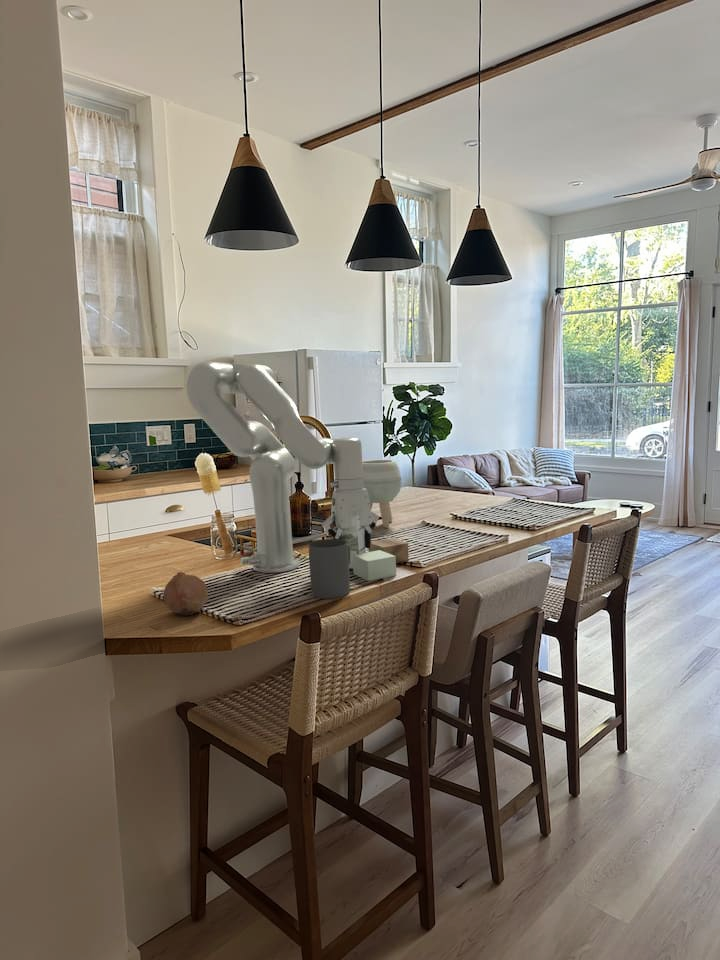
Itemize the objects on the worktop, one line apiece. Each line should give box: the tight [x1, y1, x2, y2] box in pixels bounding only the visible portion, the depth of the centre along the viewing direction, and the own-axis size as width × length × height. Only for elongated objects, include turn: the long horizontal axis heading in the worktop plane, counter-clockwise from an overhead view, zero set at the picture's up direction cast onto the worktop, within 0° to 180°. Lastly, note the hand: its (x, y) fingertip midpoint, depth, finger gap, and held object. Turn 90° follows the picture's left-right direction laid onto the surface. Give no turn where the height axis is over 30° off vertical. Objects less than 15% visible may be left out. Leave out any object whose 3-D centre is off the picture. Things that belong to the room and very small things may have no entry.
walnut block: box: [367, 537, 410, 564], centre depth 180 cm, size 8×8×5 cm
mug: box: [308, 538, 351, 600], centre depth 155 cm, size 14×9×12 cm
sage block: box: [352, 550, 397, 582], centre depth 167 cm, size 8×8×5 cm
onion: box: [162, 571, 209, 617], centre depth 144 cm, size 10×9×10 cm
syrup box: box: [340, 515, 366, 570], centre depth 175 cm, size 6×6×14 cm
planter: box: [362, 459, 402, 529], centre depth 227 cm, size 16×16×22 cm
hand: (352, 549), depth 175 cm, fingers closed on syrup box, 7 cm apart
